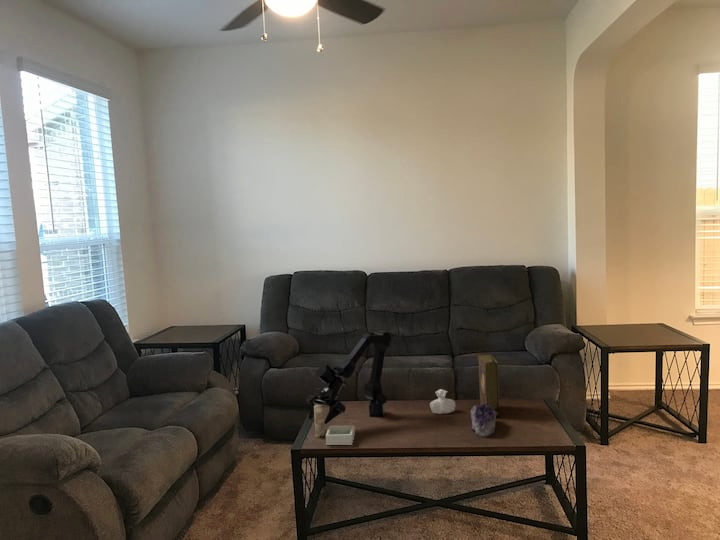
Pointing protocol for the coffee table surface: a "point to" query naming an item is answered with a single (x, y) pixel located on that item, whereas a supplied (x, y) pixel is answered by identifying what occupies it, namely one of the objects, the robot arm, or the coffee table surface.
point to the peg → (319, 420)
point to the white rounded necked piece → (442, 403)
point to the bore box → (340, 435)
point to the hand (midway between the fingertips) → (317, 421)
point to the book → (489, 382)
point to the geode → (483, 420)
